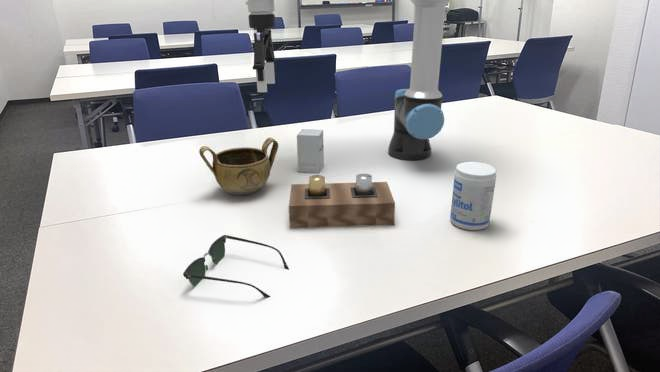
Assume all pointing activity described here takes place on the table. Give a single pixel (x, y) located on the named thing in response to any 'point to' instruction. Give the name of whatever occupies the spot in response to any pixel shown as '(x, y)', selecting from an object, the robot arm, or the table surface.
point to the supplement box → (310, 150)
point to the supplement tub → (472, 195)
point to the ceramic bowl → (242, 167)
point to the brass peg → (317, 185)
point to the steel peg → (363, 184)
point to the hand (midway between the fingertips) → (266, 87)
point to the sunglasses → (217, 252)
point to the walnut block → (341, 206)
